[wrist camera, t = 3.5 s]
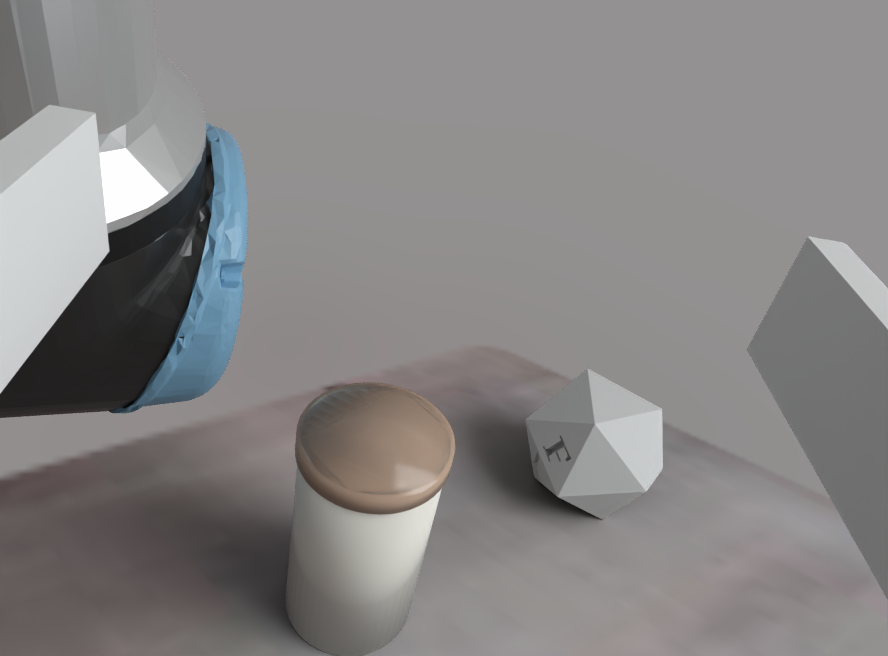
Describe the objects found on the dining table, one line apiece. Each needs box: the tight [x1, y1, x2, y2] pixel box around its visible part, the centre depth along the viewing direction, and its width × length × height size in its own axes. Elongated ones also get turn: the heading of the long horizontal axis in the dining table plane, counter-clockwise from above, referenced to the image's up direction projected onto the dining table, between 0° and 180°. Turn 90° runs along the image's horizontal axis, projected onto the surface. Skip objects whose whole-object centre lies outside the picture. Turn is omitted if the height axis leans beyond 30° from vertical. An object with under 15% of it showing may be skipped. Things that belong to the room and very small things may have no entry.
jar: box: [286, 383, 455, 656], centre depth 34 cm, size 7×7×12 cm
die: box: [525, 369, 663, 520], centre depth 45 cm, size 8×9×10 cm
